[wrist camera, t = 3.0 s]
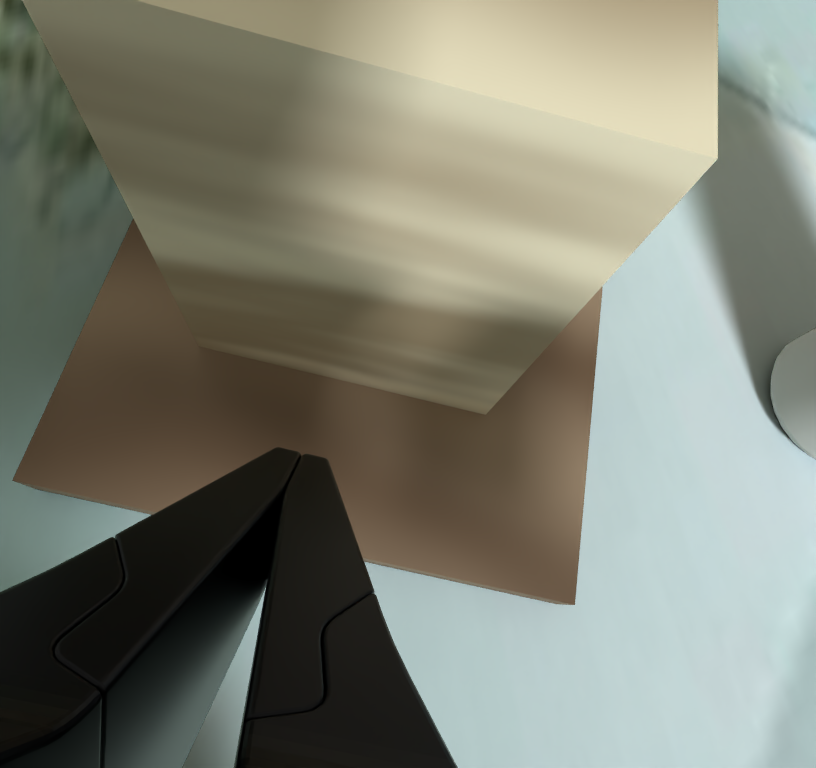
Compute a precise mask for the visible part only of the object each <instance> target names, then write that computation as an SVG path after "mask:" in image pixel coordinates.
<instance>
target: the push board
mask: <svg viewBox="0 0 816 768" xmlns="http://www.w3.org/2000/svg"><path fill="white" fill-rule="evenodd" d="M601 298H602V287H601V288H600V289H599V290H598V291H597V293H596V294H595V295H594V296H593V297H592V298H591V299H590V300H589V301H588V302H587V304H586V305H585V306H584V307H583V308H582V309H581V310H580V311H579V312H578V314H577V315H576V316H575V317H574V318H573V319H572V320H571V321H570V322H569V323H568V325H567V326H566V327H565V328H564V329H563V330H562V331H561V332H560V333H559V334H558V336H557V337H556V338H555V339H554V340H553V341H552V342H551V343H550V344H549V346H548V347H547V348H546V349H545V350H544V351H543V352H542V353H541V354H540V355H539V357H538V358H537V359H536V360H535V361H534V362H533V363H532V364H531V365H530V366H529V368H528V369H527V370H526V371H525V372H524V373H523V374H522V375H521V376H520V377H519V379H518V380H517V381H516V382H515V383H514V384H513V385H512V386H511V387H510V389H509V390H508V391H507V392H506V393H505V394H504V395H503V396H502V397H501V398H500V400H499V401H498V402H497V403H496V404H495V405H494V406H493V407H492V408H491V409H490V411H489V412H488V413H487V414H486V415H484V414H480V413H476V412H472V411H467V410H463V409H459V408H455V407H451V406H447V405H442V404H438V403H434V402H430V401H426V400H421V399H417V398H413V397H409V396H405V395H401V394H396V393H392V392H388V391H384V390H380V389H375V388H371V387H367V386H363V385H359V384H354V383H350V382H346V381H342V380H338V379H334V378H329V377H325V376H321V375H317V374H313V373H308V372H304V371H300V370H296V369H292V368H288V367H283V366H279V365H275V364H271V363H267V362H262V361H258V360H254V359H250V358H246V357H242V356H237V355H233V354H229V353H225V352H221V351H216V350H212V349H208V348H204V347H200V346H198V344H197V342H196V340H195V338H194V336H193V334H192V332H191V330H190V328H189V326H188V324H187V322H186V321H185V319H184V317H183V315H182V313H181V311H180V309H179V307H178V305H177V303H176V301H175V299H174V297H173V295H172V293H171V291H170V289H169V287H168V285H167V283H166V281H165V279H164V277H163V275H162V273H161V271H160V270H159V268H158V266H157V264H156V262H155V260H154V258H153V256H152V254H151V252H150V250H149V248H148V246H147V244H146V242H145V240H144V238H143V236H142V234H141V232H140V230H139V228H138V226H137V224H136V222H135V220H134V219H133V220H132V222H131V225H130V227H129V229H128V231H127V233H126V235H125V238H124V240H123V242H122V244H121V246H120V248H119V251H118V253H117V255H116V257H115V259H114V261H113V264H112V266H111V268H110V270H109V272H108V274H107V277H106V279H105V281H104V283H103V285H102V287H101V290H100V292H99V294H98V296H97V298H96V300H95V303H94V305H93V307H92V309H91V311H90V313H89V316H88V318H87V320H86V322H85V324H84V326H83V329H82V331H81V333H80V335H79V337H78V339H77V342H76V344H75V346H74V348H73V350H72V352H71V355H70V357H69V359H68V361H67V363H66V365H65V368H64V370H63V372H62V374H61V376H60V378H59V380H58V383H57V385H56V387H55V389H54V391H53V393H52V396H51V398H50V400H49V402H48V404H47V406H46V409H45V411H44V413H43V415H42V417H41V419H40V422H39V424H38V426H37V428H36V430H35V432H34V435H33V437H32V439H31V441H30V443H29V445H28V448H27V450H26V452H25V454H24V456H23V458H22V461H21V463H20V465H19V467H18V469H17V471H16V474H15V476H14V478H13V480H12V481H15V482H18V483H21V484H23V485H26V486H29V487H32V488H35V489H38V490H43V491H47V492H52V493H56V494H61V495H65V496H70V497H74V498H79V499H83V500H88V501H93V502H97V503H102V504H106V505H111V506H115V507H120V508H124V509H129V510H133V511H138V512H142V513H147V514H151V515H153V514H155V513H157V512H158V511H160V510H162V509H164V508H166V507H168V506H169V505H171V504H173V503H175V502H177V501H179V500H180V499H182V498H184V497H186V496H188V495H190V494H191V493H193V492H195V491H197V490H199V489H200V488H202V487H204V486H206V485H208V484H210V483H211V482H213V481H215V480H217V479H219V478H221V477H222V476H224V475H226V474H228V473H230V472H232V471H233V470H235V469H237V468H239V467H241V466H243V465H244V464H246V463H248V462H250V461H252V460H254V459H255V458H257V457H259V456H261V455H263V454H265V453H266V452H268V451H270V450H272V449H274V448H276V447H281V448H285V449H289V450H294V451H298V452H300V453H301V457H302V455H303V454H311V455H315V456H320V457H324V458H327V459H328V461H329V463H330V466H331V469H332V471H333V474H334V477H335V480H336V483H337V486H338V489H339V491H340V494H341V497H342V500H343V503H344V506H345V509H346V511H347V514H348V517H349V520H350V523H351V526H352V529H353V532H354V534H355V537H356V540H357V543H358V546H359V549H360V552H361V554H362V557H363V560H364V562H369V563H373V564H378V565H382V566H387V567H391V568H396V569H400V570H405V571H409V572H414V573H418V574H423V575H427V576H432V577H436V578H441V579H446V580H450V581H455V582H459V583H464V584H468V585H473V586H477V587H482V588H486V589H491V590H495V591H500V592H504V593H509V594H513V595H518V596H522V597H527V598H531V599H536V600H541V601H545V602H550V603H554V604H566V605H575V596H576V585H577V573H578V562H579V550H580V539H581V527H582V516H583V505H584V493H585V482H586V470H587V459H588V447H589V436H590V424H591V413H592V401H593V390H594V378H595V367H596V355H597V344H598V332H599V321H600V309H601Z"/></svg>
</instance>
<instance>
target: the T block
mask: <svg viewBox="0 0 816 768" xmlns="http://www.w3.org/2000/svg"><path fill="white" fill-rule="evenodd" d="M22 1H23V3H24V5H25V7H26V9H27V11H28V13H29V14H30V16H31V18H32V20H33V22H34V24H35V26H36V28H37V30H38V32H39V34H40V36H41V38H42V40H43V42H44V44H45V46H46V48H47V50H48V52H49V54H50V56H51V58H52V60H53V62H54V64H55V65H56V67H57V69H58V71H59V73H60V75H61V77H62V79H63V81H64V83H65V85H66V87H67V89H68V91H69V93H70V95H71V97H72V99H73V101H74V103H75V105H76V107H77V109H78V111H79V113H80V115H81V116H82V118H83V120H84V122H85V124H86V126H87V128H88V130H89V132H90V134H91V136H92V138H93V140H94V142H95V144H96V146H97V148H98V150H99V152H100V154H101V156H102V158H103V160H104V162H105V164H106V166H107V167H108V169H109V171H110V173H111V175H112V177H113V179H114V181H115V183H116V185H117V187H118V189H119V191H120V193H121V195H122V197H123V199H124V201H125V203H126V205H127V207H128V209H129V211H130V213H131V215H132V217H133V219H134V220H135V222H136V224H137V226H138V228H139V230H140V232H141V234H142V236H143V238H144V240H145V242H146V244H147V246H148V248H149V250H150V252H151V254H152V256H153V258H154V260H155V262H156V264H157V266H158V268H159V270H160V271H161V273H162V275H163V277H164V279H165V281H166V283H167V285H168V287H169V289H170V291H171V293H172V295H173V297H174V299H175V301H176V303H177V305H178V307H179V309H180V311H181V313H182V315H183V317H184V319H185V321H186V322H187V324H188V326H189V328H190V330H191V332H192V334H193V336H194V338H195V340H196V342H197V344H198V346H200V347H204V348H208V349H212V350H216V351H221V352H225V353H229V354H233V355H237V356H242V357H246V358H250V359H254V360H258V361H262V362H267V363H271V364H275V365H279V366H283V367H288V368H292V369H296V370H300V371H304V372H308V373H313V374H317V375H321V376H325V377H329V378H334V379H338V380H342V381H346V382H350V383H354V384H359V385H363V386H367V387H371V388H375V389H380V390H384V391H388V392H392V393H396V394H401V395H405V396H409V397H413V398H417V399H421V400H426V401H430V402H434V403H438V404H442V405H447V406H451V407H455V408H459V409H463V410H467V411H472V412H476V413H480V414H484V415H486V414H487V413H488V412H489V411H490V409H491V408H492V407H493V406H494V405H495V404H496V403H497V402H498V401H499V400H500V398H501V397H502V396H503V395H504V394H505V393H506V392H507V391H508V390H509V389H510V387H511V386H512V385H513V384H514V383H515V382H516V381H517V380H518V379H519V377H520V376H521V375H522V374H523V373H524V372H525V371H526V370H527V369H528V368H529V366H530V365H531V364H532V363H533V362H534V361H535V360H536V359H537V358H538V357H539V355H540V354H541V353H542V352H543V351H544V350H545V349H546V348H547V347H548V346H549V344H550V343H551V342H552V341H553V340H554V339H555V338H556V337H557V336H558V334H559V333H560V332H561V331H562V330H563V329H564V328H565V327H566V326H567V325H568V323H569V322H570V321H571V320H572V319H573V318H574V317H575V316H576V315H577V314H578V312H579V311H580V310H581V309H582V308H583V307H584V306H585V305H586V304H587V302H588V301H589V300H590V299H591V298H592V297H593V296H594V295H595V294H596V293H597V291H598V290H599V289H600V288H601V287H602V286H603V285H604V284H605V283H606V282H607V280H608V279H609V278H610V277H611V276H612V275H613V274H614V273H615V272H616V270H617V269H618V268H619V267H620V266H621V265H622V264H623V263H624V262H625V261H626V259H627V258H628V257H629V256H630V255H631V254H632V253H633V252H634V251H635V250H636V248H637V247H638V246H639V245H640V244H641V243H642V242H643V241H644V240H645V238H646V237H647V236H648V235H649V234H650V233H651V232H652V231H653V230H654V229H655V227H656V226H657V225H658V224H659V223H660V222H661V221H662V220H663V219H664V218H665V216H666V215H667V214H668V213H669V212H670V211H671V210H672V209H673V208H674V207H675V205H676V204H677V203H678V202H679V201H680V200H681V199H682V198H683V197H684V195H685V194H686V193H687V192H688V191H689V190H690V189H691V188H692V187H693V186H694V184H695V183H696V182H697V181H698V180H699V179H700V178H701V177H702V176H703V175H704V173H705V172H706V171H707V170H708V169H709V168H710V167H711V166H712V165H713V163H714V162H715V161H716V160H717V159H718V0H22Z"/></svg>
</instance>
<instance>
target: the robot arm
mask: <svg viewBox="0 0 816 768" xmlns="http://www.w3.org/2000/svg"><path fill="white" fill-rule="evenodd" d="M265 588H266V590H265ZM264 590H265V596H264V601H263V607H262V613H261V618H260V624H259V629H258V635H257V640H256V646H255V652H254V657H253V663H252V668H251V674H250V680H249V685H248V691H247V696H246V702H245V707H244V713H243V719H242V724H241V730H240V735H239V741H238V747H237V752H236V758H235V763H234V768H458V767H457V765H456V764H455V762H454V760H453V758H452V756H451V754H450V752H449V750H448V748H447V746H446V744H445V743H444V741H443V739H442V737H441V735H440V733H439V731H438V729H437V727H436V725H435V723H434V721H433V720H432V718H431V716H430V714H429V712H428V710H427V708H426V706H425V704H424V702H423V700H422V698H421V696H420V695H419V693H418V691H417V689H416V687H415V685H414V683H413V681H412V679H411V677H410V675H409V673H408V671H407V669H406V667H405V665H404V663H403V661H402V659H401V657H400V655H399V653H398V651H397V648H396V646H395V644H394V642H393V639H392V637H391V634H390V632H389V629H388V627H387V624H386V622H385V619H384V617H383V614H382V611H381V608H380V605H379V602H378V599H377V597H376V595H375V594H374V589H373V586H372V583H371V580H370V577H369V574H368V572H367V569H366V566H365V563H364V560H363V557H362V554H361V552H360V549H359V546H358V543H357V540H356V537H355V534H354V532H353V529H352V526H351V523H350V520H349V517H348V514H347V511H346V509H345V506H344V503H343V500H342V497H341V494H340V491H339V489H338V486H337V483H336V480H335V477H334V474H333V471H332V469H331V466H330V463H329V461H328V459H327V458H324V457H320V456H315V455H311V454H303V455H302V457H301V453H300V452H298V451H294V450H289V449H285V448H281V447H276V448H274V449H272V450H270V451H268V452H266V453H265V454H263V455H261V456H259V457H257V458H255V459H254V460H252V461H250V462H248V463H246V464H244V465H243V466H241V467H239V468H237V469H235V470H233V471H232V472H230V473H228V474H226V475H224V476H222V477H221V478H219V479H217V480H215V481H213V482H211V483H210V484H208V485H206V486H204V487H202V488H200V489H199V490H197V491H195V492H193V493H191V494H190V495H188V496H186V497H184V498H182V499H180V500H179V501H177V502H175V503H173V504H171V505H169V506H168V507H166V508H164V509H162V510H160V511H158V512H157V513H155V514H153V515H151V516H149V517H147V518H146V519H144V520H142V521H140V522H138V523H136V524H135V525H133V526H131V527H129V528H127V529H125V530H124V531H122V532H120V533H118V534H116V536H115V538H113V537H111V538H109V539H107V540H105V541H103V542H101V543H99V544H98V545H96V546H94V547H92V548H90V549H88V550H86V551H84V552H83V553H81V554H79V555H77V556H75V557H73V558H71V559H69V560H67V561H65V562H63V563H61V564H59V565H57V566H55V567H53V568H51V569H50V570H47V571H45V572H43V573H41V574H39V575H37V576H34V577H32V578H30V579H28V580H26V581H24V582H21V583H19V584H17V585H15V586H13V587H11V588H8V589H6V590H4V591H2V592H0V768H182V767H183V765H184V763H185V760H186V758H187V756H188V754H189V752H190V750H191V748H192V745H193V743H194V741H195V739H196V737H197V735H198V733H199V730H200V728H201V726H202V724H203V722H204V720H205V718H206V715H207V713H208V711H209V709H210V707H211V705H212V703H213V700H214V698H215V696H216V694H217V692H218V690H219V688H220V685H221V683H222V681H223V679H224V677H225V675H226V673H227V670H228V668H229V666H230V664H231V662H232V660H233V658H234V656H235V653H236V651H237V649H238V647H239V645H240V643H241V641H242V638H243V636H244V634H245V632H246V630H247V628H248V626H249V623H250V621H251V619H252V617H253V615H254V613H255V611H256V608H257V606H258V604H259V602H260V599H261V597H262V595H263V593H264Z"/></svg>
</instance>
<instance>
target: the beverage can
mask: <svg viewBox="0 0 816 768" xmlns="http://www.w3.org/2000/svg"><path fill="white" fill-rule="evenodd" d="M771 400H772V404H773V408H774V412H775V414H776V416H777V418H778V420H779V422H780V424H781V427H782V428H783V430H784V431H785V432H786V433H787V435H788V436H789V437H790V439H791V440H792V441H793V442H794V443H795V444H796V445H797V446H798V447H799V448H800V449H802V450H803V451H804V452H805V453H806V454H807V455H809V456H810V457H812V458H814V459H816V328H815V329H813V330H811V331H809V332H807V333H806V334H804V335H802V336H800V337H798V338H797V339H795V340H793V341H792V342H790V343H788V344H787V345H786V346H785V347H784V349H783V350H782V351H781V352H780V354H779V355H778V356H777V358H776V361H775V364H774V368H773V371H772V374H771Z"/></svg>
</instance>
